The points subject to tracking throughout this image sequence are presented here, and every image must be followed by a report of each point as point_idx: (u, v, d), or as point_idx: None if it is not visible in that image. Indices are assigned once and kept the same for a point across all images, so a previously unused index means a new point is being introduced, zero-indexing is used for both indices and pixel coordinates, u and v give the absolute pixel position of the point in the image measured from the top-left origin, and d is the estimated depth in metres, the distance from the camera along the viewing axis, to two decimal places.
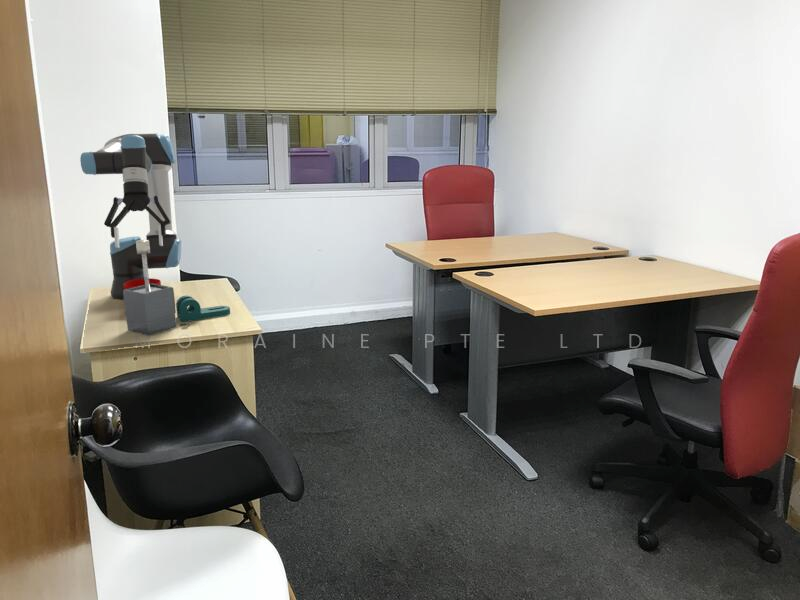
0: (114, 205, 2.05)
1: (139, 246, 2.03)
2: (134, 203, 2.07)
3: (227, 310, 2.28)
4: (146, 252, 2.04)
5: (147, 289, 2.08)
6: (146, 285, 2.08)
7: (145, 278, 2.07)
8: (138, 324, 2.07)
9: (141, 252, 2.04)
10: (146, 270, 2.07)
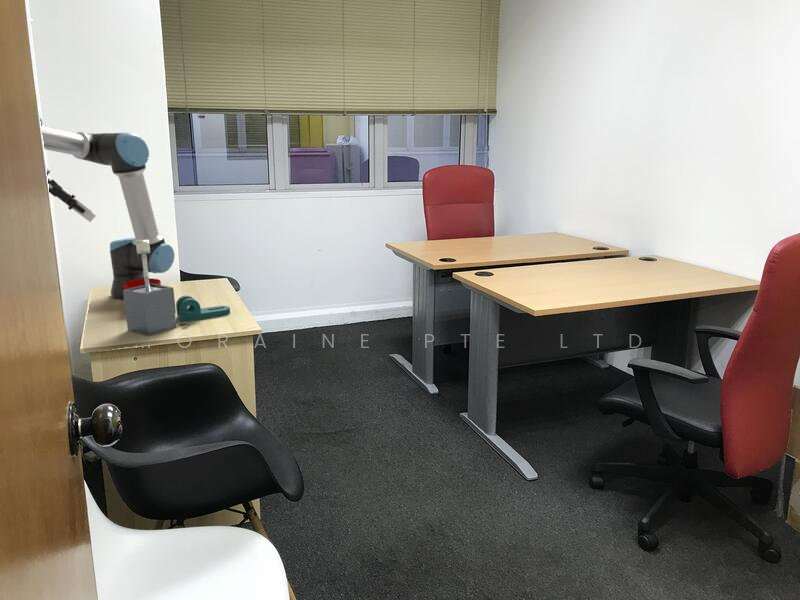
0: None
1: (139, 246, 2.03)
2: None
3: (227, 310, 2.28)
4: (146, 252, 2.04)
5: (147, 289, 2.08)
6: (146, 285, 2.08)
7: (145, 278, 2.07)
8: (138, 324, 2.07)
9: (141, 252, 2.04)
10: (146, 270, 2.07)
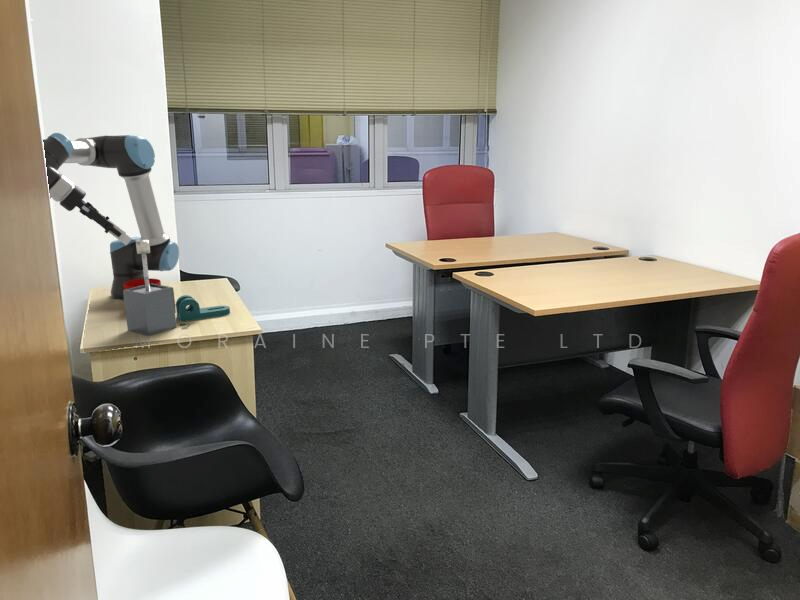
0: None
1: (139, 246, 2.03)
2: None
3: (227, 310, 2.28)
4: (146, 252, 2.04)
5: (147, 289, 2.08)
6: (146, 285, 2.08)
7: (145, 278, 2.07)
8: (138, 324, 2.07)
9: (141, 252, 2.04)
10: (146, 270, 2.07)
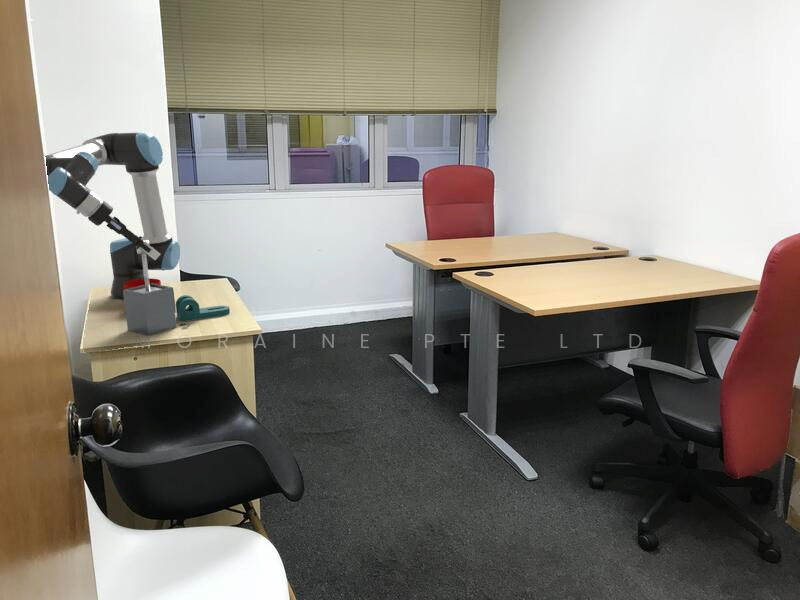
0: None
1: None
2: None
3: (226, 310, 2.28)
4: None
5: (147, 289, 2.08)
6: (146, 285, 2.08)
7: (145, 278, 2.07)
8: (138, 324, 2.07)
9: (141, 252, 2.04)
10: (146, 270, 2.07)
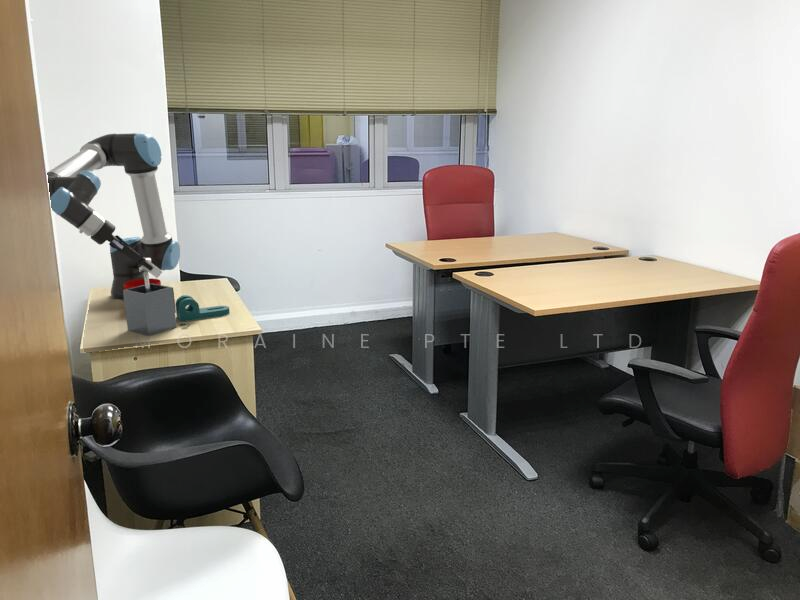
0: None
1: None
2: None
3: (226, 310, 2.28)
4: None
5: None
6: None
7: None
8: (138, 324, 2.07)
9: (143, 270, 2.05)
10: (148, 287, 2.08)
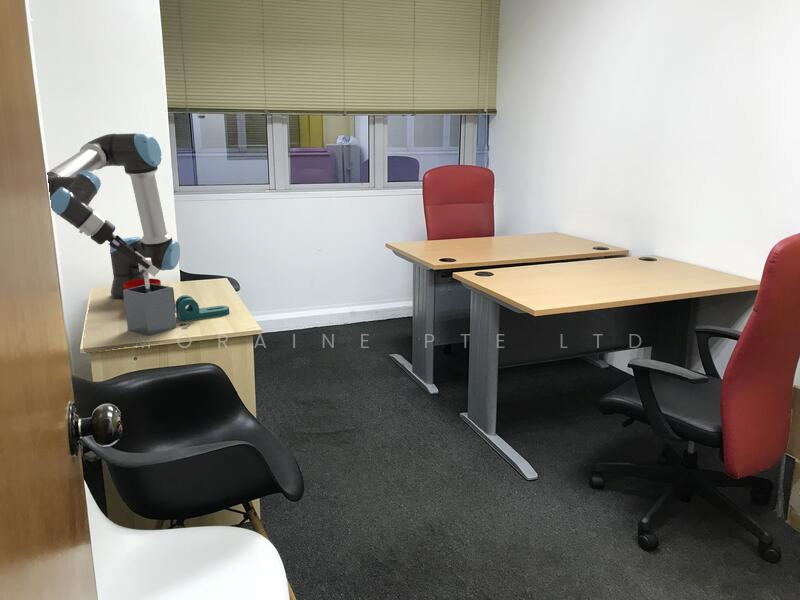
0: None
1: None
2: None
3: (226, 310, 2.28)
4: None
5: None
6: None
7: None
8: (138, 324, 2.07)
9: (143, 270, 2.05)
10: (148, 287, 2.08)
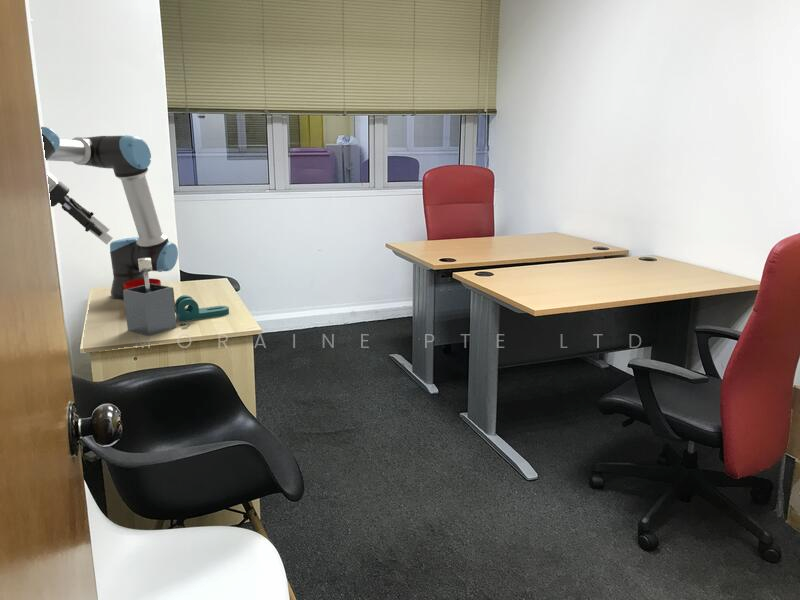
0: None
1: (141, 264, 2.05)
2: None
3: (226, 310, 2.28)
4: (148, 270, 2.06)
5: None
6: None
7: None
8: (138, 324, 2.07)
9: (143, 270, 2.05)
10: (148, 287, 2.08)
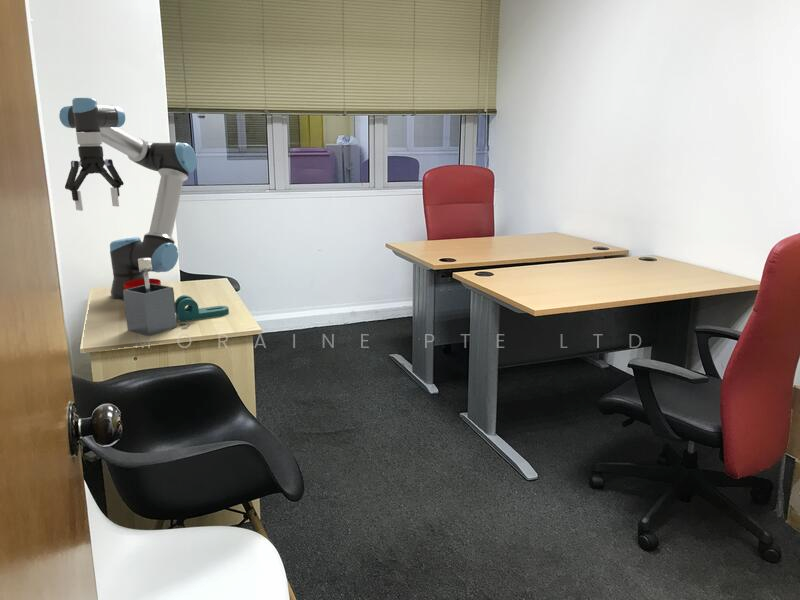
0: None
1: (141, 264, 2.05)
2: None
3: (225, 310, 2.28)
4: (148, 270, 2.06)
5: None
6: None
7: None
8: (138, 324, 2.07)
9: (143, 270, 2.05)
10: (148, 287, 2.08)
